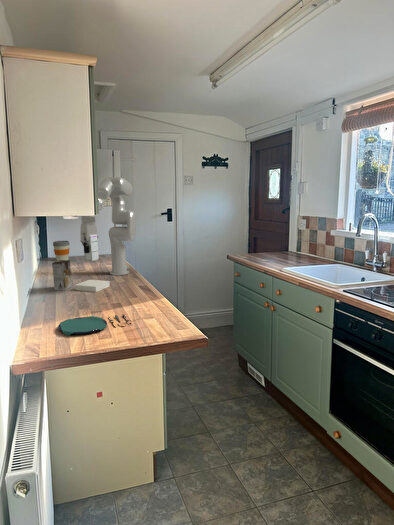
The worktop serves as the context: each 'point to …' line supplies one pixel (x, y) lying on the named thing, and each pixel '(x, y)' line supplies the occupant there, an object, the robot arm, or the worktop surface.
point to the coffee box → (62, 275)
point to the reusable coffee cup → (61, 250)
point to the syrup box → (92, 249)
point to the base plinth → (92, 285)
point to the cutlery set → (83, 325)
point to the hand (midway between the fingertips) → (90, 251)
